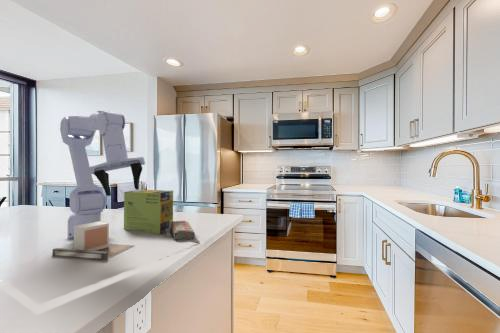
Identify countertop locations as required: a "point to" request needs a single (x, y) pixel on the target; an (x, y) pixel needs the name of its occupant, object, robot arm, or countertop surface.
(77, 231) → the carton
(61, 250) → the shelf
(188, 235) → the packaged product
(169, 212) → the protein box
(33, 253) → the countertop surface
